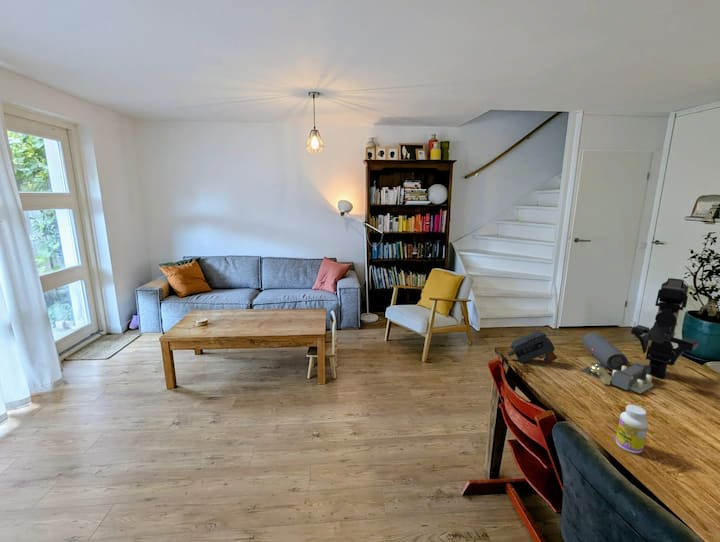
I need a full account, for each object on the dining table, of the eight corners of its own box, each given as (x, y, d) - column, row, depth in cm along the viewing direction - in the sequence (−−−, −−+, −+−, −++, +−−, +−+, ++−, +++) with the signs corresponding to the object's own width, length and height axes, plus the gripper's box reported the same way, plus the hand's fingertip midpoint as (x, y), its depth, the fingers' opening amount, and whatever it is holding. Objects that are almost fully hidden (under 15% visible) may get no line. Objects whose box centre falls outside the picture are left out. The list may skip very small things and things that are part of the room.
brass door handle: (586, 367, 148) (588, 360, 147) (602, 369, 146) (603, 362, 146) (598, 383, 136) (599, 375, 135) (615, 385, 134) (616, 377, 133)
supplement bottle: (609, 439, 105) (616, 403, 102) (629, 437, 106) (636, 401, 103) (628, 455, 99) (635, 417, 96) (648, 453, 99) (657, 415, 96)
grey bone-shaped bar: (634, 372, 143) (636, 361, 142) (649, 377, 139) (651, 366, 138) (611, 384, 134) (613, 372, 133) (626, 390, 130) (629, 378, 129)
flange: (591, 365, 151) (591, 365, 151) (614, 374, 143) (614, 374, 143) (580, 370, 146) (580, 370, 146) (603, 380, 139) (603, 379, 139)
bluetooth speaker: (579, 349, 166) (582, 331, 164) (600, 351, 165) (603, 332, 163) (603, 373, 145) (606, 351, 142) (627, 374, 143) (631, 353, 141)
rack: (621, 373, 144) (623, 364, 143) (653, 385, 135) (655, 375, 134) (608, 380, 139) (610, 370, 138) (640, 393, 129) (642, 383, 128)
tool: (561, 360, 150) (546, 332, 148) (519, 376, 155) (505, 349, 154) (556, 354, 155) (542, 327, 154) (516, 369, 161) (502, 343, 159)
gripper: (627, 316, 131) (620, 352, 135) (690, 332, 115) (681, 373, 119) (640, 311, 137) (634, 346, 140) (702, 326, 121) (693, 365, 124)
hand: (658, 357), depth 131 cm, fingers open, 9 cm apart
